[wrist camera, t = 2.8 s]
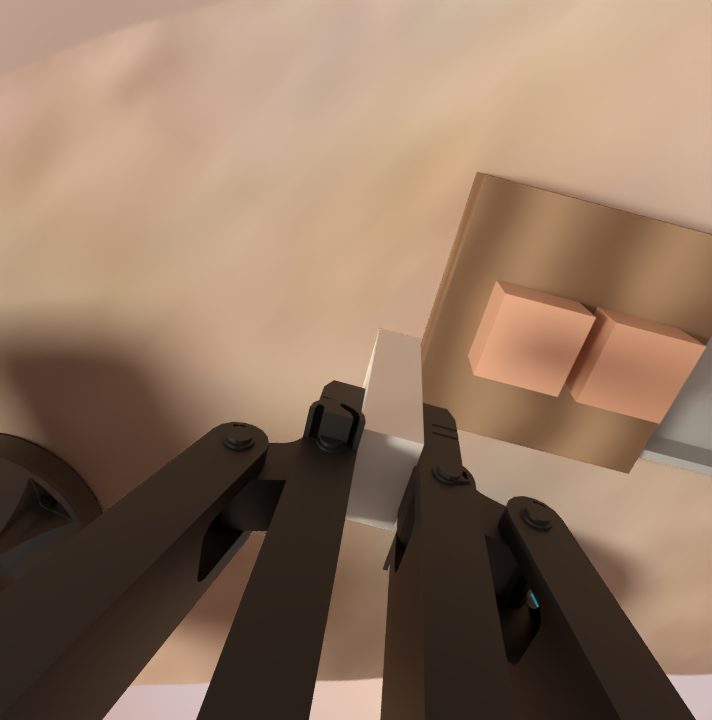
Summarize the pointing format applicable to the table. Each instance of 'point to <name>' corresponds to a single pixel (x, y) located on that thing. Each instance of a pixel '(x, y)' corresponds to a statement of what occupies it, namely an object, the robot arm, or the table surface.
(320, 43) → the table surface
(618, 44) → the table surface
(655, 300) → the brown square slab
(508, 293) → the tile
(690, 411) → the tray
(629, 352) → the tile
